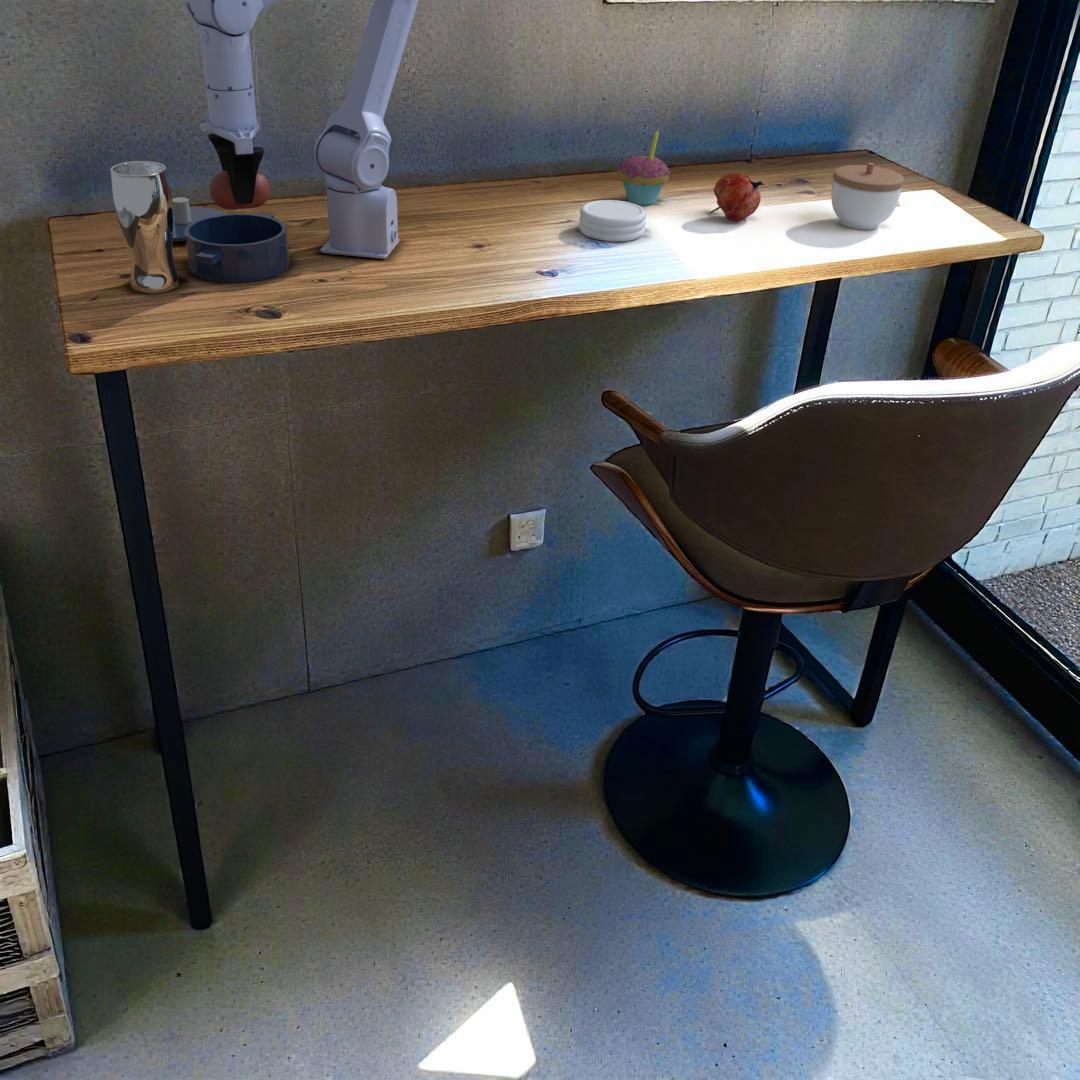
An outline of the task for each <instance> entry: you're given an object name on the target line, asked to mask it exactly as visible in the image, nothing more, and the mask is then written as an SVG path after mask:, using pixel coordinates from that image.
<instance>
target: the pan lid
mask: <svg viewBox="0 0 1080 1080" xmlns="http://www.w3.org/2000/svg"><path fill="white" fill-rule="evenodd" d="M172 203H173V241H172V242H185V235H184V230H185V229H186V227H187V225H189V224H191V223H192V222H194V221H197V220H200V219H203V218H206V217H211V216H216V215H223V214H228V213H227V212H225V211H223V210H220V209H217V208H212V207H211V208H210V207H204V206H190V199H189V198H188V197H184V196H182V197H179V196H178V197H174V198H172Z"/></svg>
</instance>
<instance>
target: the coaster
mask: <svg viewBox="0 0 1080 1080" xmlns="http://www.w3.org/2000/svg"><path fill="white" fill-rule="evenodd" d="M579 214H580V216H579V224H578V228H579V229H578V230H579V231H580V232H581V233H582V234H583V235H585V236H586V237H589V238H591V239H594V240H597V241H604V242H613V243H618V242H620V243H621V242H630V241H635V240H637V239H640V238H641V237H643V235H645V232H646V224H647V222H646V218H647V211H646V210H645V209H644V207H642V206H640V205H639V204H634V203H631V202H629V201H623V200H617V199H616V200H614V199H600V200H593V201H588V202H587V203H585V204H583V205H582V206H581V207H580V209H579Z"/></svg>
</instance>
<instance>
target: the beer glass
mask: <svg viewBox="0 0 1080 1080" xmlns="http://www.w3.org/2000/svg"><path fill="white" fill-rule="evenodd" d="M109 171H110V177H111V179H110V180H111V190H112V191H111V192H112V199H113V200H112V201H113V206H114V212H115V216H116V220H117V223H118V226H119V229H120V233H121V235H122V239H123V242H124V244H125V246H126V250H127V253H128V258H129V263H130V276H129V277H130V279H129V280H130V281H129V283H130V288H131V289H132V290H134V291H135V292H138V293H142V294H161V293H166V292H170V291H173V290H174V289H176V288H178V287H179V285H180V277H179V274H178V271H177V269H176V265H175V261H174V255H173V254H174V253H173V242H174V241H173V203H172V199H173V196H172V191H171V186H170V181H169V177H168V171H167V166H166V165H165V164H164V163H161V162H157V161H151V160H132V161H125V162H120V163H117V164H115V165H113V166H111V167H110V168H109Z"/></svg>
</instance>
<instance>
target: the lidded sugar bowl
mask: <svg viewBox="0 0 1080 1080" xmlns="http://www.w3.org/2000/svg"><path fill="white" fill-rule="evenodd" d="M904 182H905V178H904V176H903V175H902V174H900V173H899V172H897V171H895V170H892V169H889V168H885V167H881V166H880V167H879V166H875V163H873V162H868V163H867V164H850V165H849V164H848V165H843V166H839V167H836V168H835V169H834V170H833V174H832V184H831V192H830V193H831V194H830V197H831V198H830V199H831V205H832V210H833V212H834V214H835V215H836V217H837V218H838V219H839V223H840V224H841V225H842V226H844V227H848V228H851V229H856V230H862V231H864V230H866V231H867V230H875V229H878V228H879V227H880V225H881V224H884V222H886V221H887V220H888V219H889V218H890V217H891V216H892V214H893V213H894V211H895V210H896V207H897V205H898V203H899V200H900V196H901V192H902V188H903V186H904Z"/></svg>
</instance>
